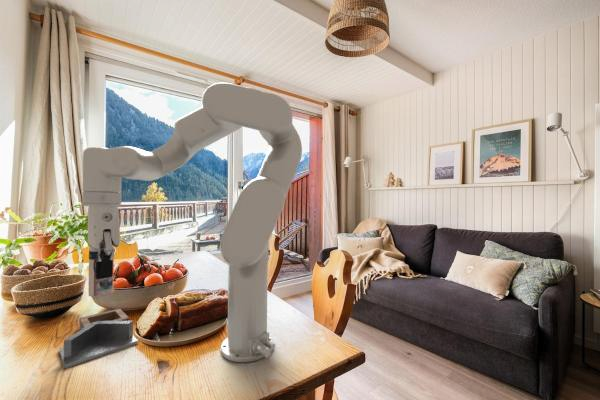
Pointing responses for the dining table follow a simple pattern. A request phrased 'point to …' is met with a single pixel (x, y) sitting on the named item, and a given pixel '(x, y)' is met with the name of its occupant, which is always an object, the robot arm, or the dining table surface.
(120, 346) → the v block
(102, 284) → the beer can
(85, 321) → the grey square frame
